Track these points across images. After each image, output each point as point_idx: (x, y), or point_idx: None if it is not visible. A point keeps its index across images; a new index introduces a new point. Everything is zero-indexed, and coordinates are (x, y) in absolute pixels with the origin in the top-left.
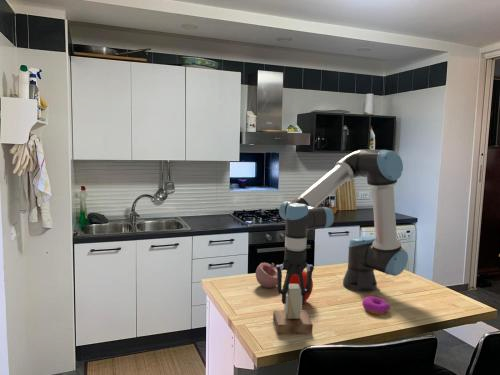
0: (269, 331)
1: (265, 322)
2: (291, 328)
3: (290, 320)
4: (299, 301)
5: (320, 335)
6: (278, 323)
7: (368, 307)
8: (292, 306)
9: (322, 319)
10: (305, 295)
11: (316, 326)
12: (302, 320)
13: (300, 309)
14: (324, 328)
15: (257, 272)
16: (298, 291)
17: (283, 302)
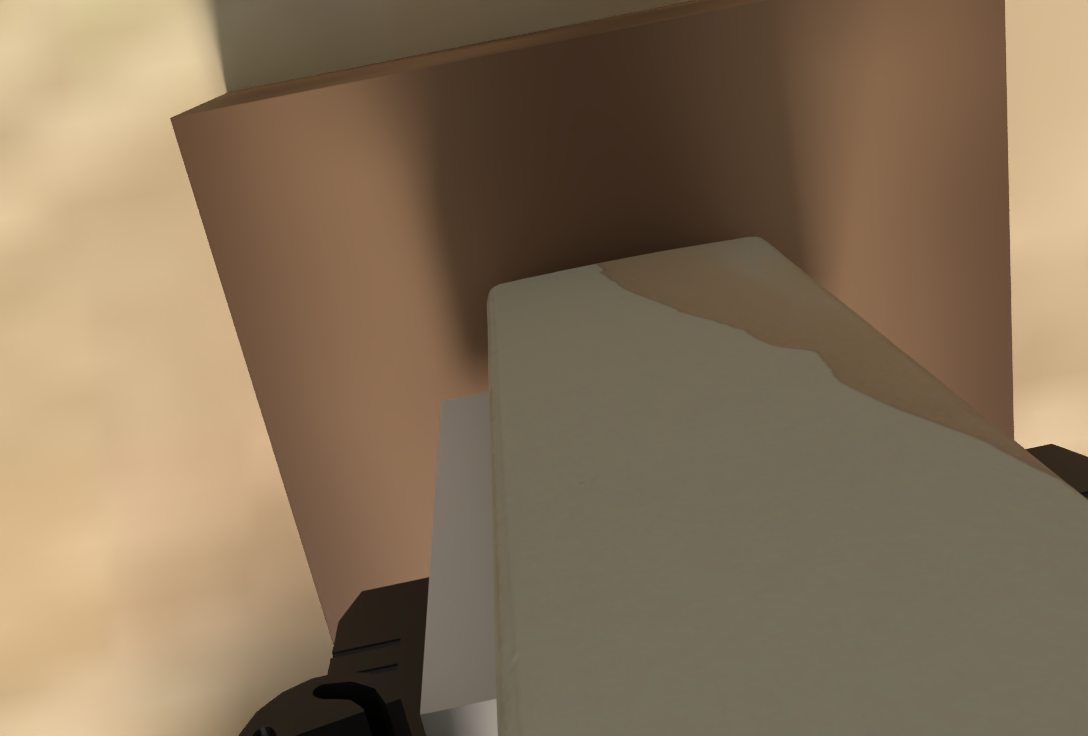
0: (1048, 64)
1: (1077, 392)
2: (661, 16)
3: (694, 226)
4: (534, 459)
5: (57, 67)
6: (987, 22)
7: None
8: (749, 339)
9: (68, 672)
10: (273, 706)
11: (159, 409)
12: (418, 270)
13: (474, 437)
14: (3, 361)
15: None
16: (668, 713)
17: (1058, 464)
